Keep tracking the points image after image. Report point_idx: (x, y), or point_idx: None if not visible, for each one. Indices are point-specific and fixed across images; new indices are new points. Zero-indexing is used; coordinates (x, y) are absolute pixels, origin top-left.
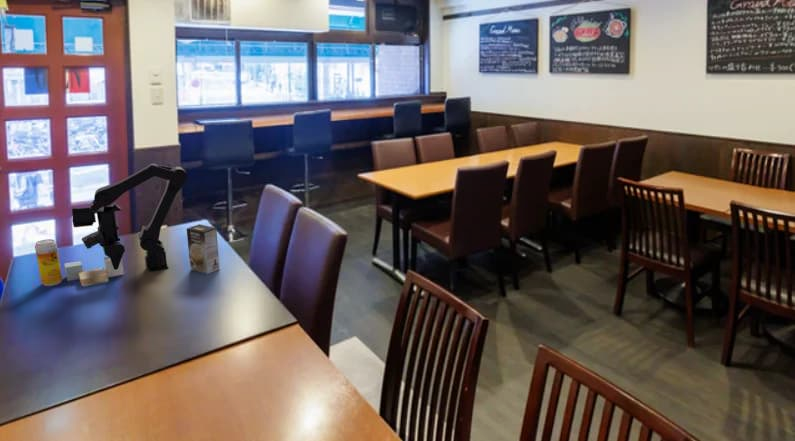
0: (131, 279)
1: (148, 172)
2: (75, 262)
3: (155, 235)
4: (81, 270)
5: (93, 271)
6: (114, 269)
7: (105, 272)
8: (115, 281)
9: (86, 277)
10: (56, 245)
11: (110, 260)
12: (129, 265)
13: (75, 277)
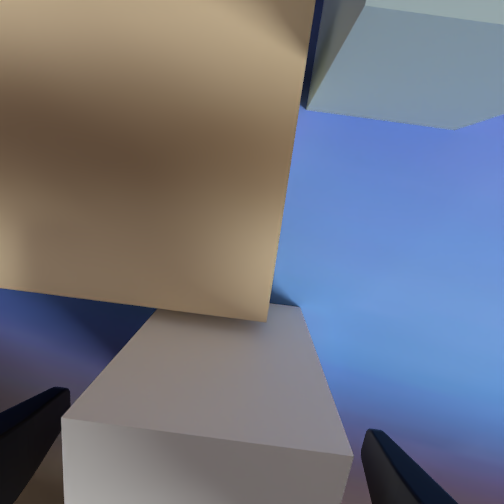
0: (12, 404)
1: None
2: None
3: None
4: (334, 46)
5: (209, 188)
6: (52, 388)
7: (75, 289)
8: (30, 306)
9: (8, 44)
10: None
11: (77, 488)
12: (352, 484)
13: (328, 3)
